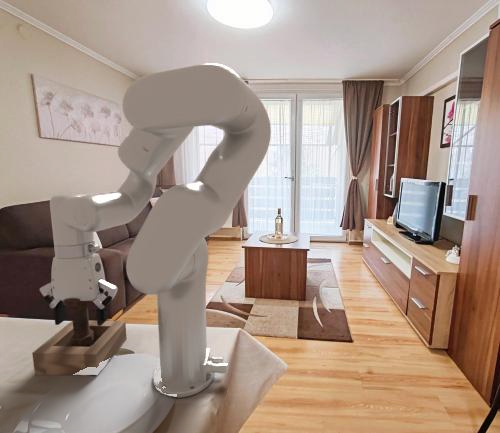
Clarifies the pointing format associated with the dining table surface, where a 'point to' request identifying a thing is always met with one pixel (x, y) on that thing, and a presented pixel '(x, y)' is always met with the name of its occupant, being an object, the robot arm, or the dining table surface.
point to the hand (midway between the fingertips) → (82, 322)
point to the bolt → (80, 323)
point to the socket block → (78, 349)
